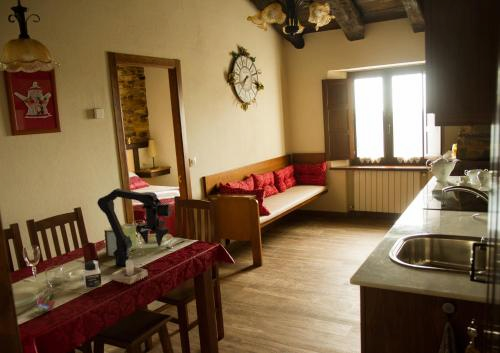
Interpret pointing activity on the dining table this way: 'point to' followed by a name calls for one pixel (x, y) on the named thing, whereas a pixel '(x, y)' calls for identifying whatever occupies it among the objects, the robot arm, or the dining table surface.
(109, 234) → the protein box
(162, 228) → the robot arm
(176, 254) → the dining table surface
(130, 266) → the peg
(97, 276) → the medicine bottle
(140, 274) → the crate
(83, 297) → the dining table surface
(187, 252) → the dining table surface
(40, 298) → the geometric puzzle
